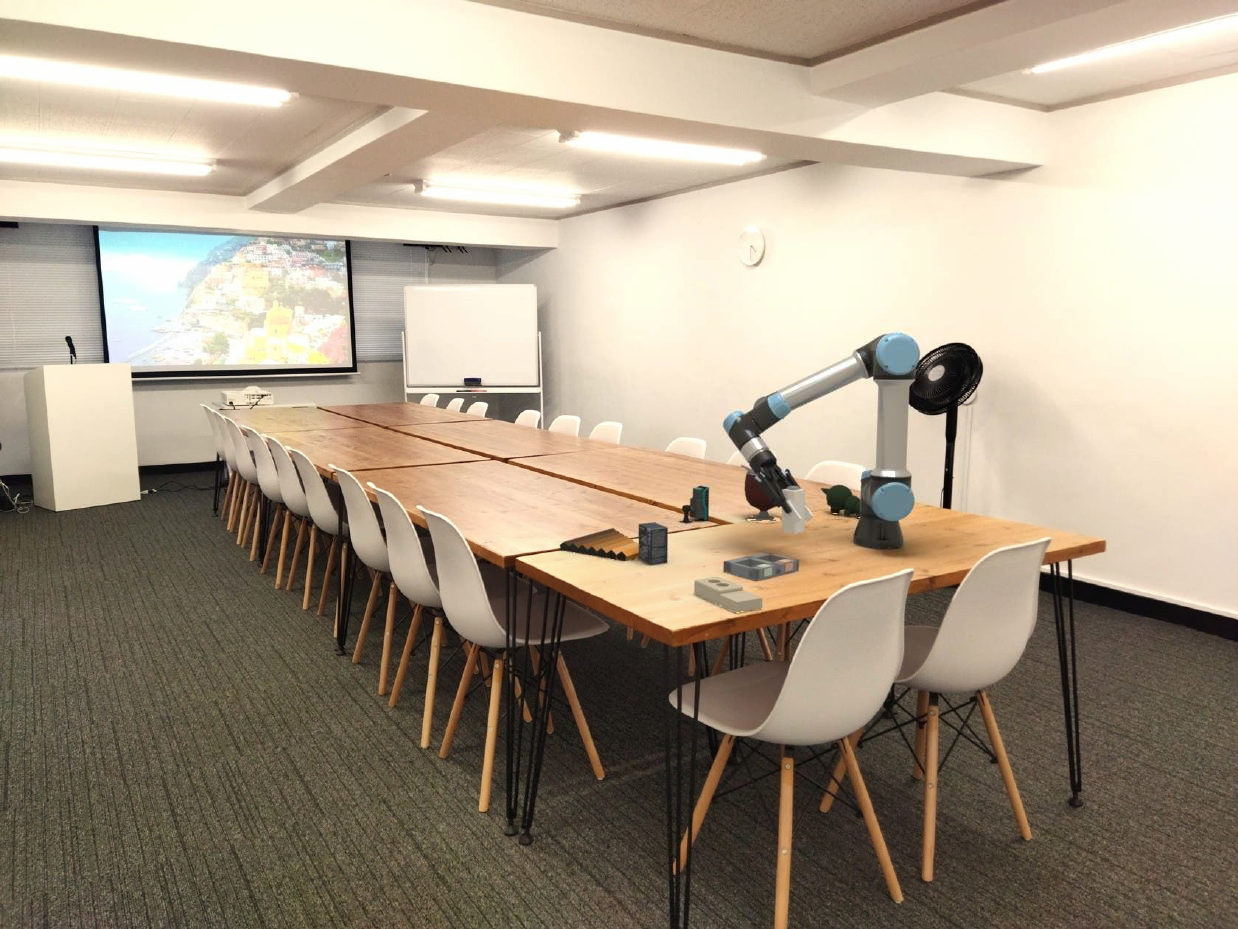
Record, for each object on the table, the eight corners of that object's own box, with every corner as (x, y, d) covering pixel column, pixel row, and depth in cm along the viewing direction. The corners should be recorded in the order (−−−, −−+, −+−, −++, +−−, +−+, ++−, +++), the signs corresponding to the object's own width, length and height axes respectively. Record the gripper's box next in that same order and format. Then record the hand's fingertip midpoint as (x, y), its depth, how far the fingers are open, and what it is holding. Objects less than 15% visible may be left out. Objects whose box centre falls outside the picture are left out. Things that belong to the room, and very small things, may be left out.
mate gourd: (776, 516, 312) (777, 461, 310) (788, 523, 299) (790, 466, 296) (734, 517, 310) (736, 462, 308) (745, 524, 297) (746, 467, 294)
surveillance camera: (677, 487, 301) (699, 485, 306) (677, 521, 302) (699, 518, 308) (687, 489, 296) (709, 487, 302) (687, 524, 298) (709, 521, 303)
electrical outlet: (737, 598, 195) (693, 579, 211) (736, 615, 196) (693, 595, 212) (762, 593, 199) (717, 576, 214) (762, 610, 199) (717, 591, 215)
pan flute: (609, 537, 279) (559, 551, 259) (609, 527, 278) (559, 540, 258) (673, 547, 264) (626, 563, 244) (673, 536, 264) (626, 552, 244)
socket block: (765, 562, 243) (765, 551, 243) (799, 570, 234) (799, 559, 234) (723, 572, 233) (723, 560, 232) (757, 581, 223) (757, 569, 223)
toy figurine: (886, 523, 308) (824, 508, 324) (893, 471, 304) (830, 459, 320) (875, 527, 301) (812, 512, 317) (882, 474, 297) (818, 461, 313)
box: (637, 559, 247) (638, 523, 245) (655, 557, 249) (655, 521, 248) (650, 565, 240) (650, 528, 238) (668, 563, 242) (668, 526, 241)
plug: (792, 529, 245) (792, 485, 244) (804, 531, 242) (805, 486, 240) (782, 531, 242) (782, 486, 241) (794, 533, 239) (794, 488, 237)
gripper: (772, 462, 257) (816, 523, 247) (731, 468, 246) (776, 532, 236) (786, 445, 252) (831, 507, 242) (745, 451, 241) (791, 516, 231)
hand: (804, 520), depth 239 cm, fingers closed on plug, 4 cm apart
